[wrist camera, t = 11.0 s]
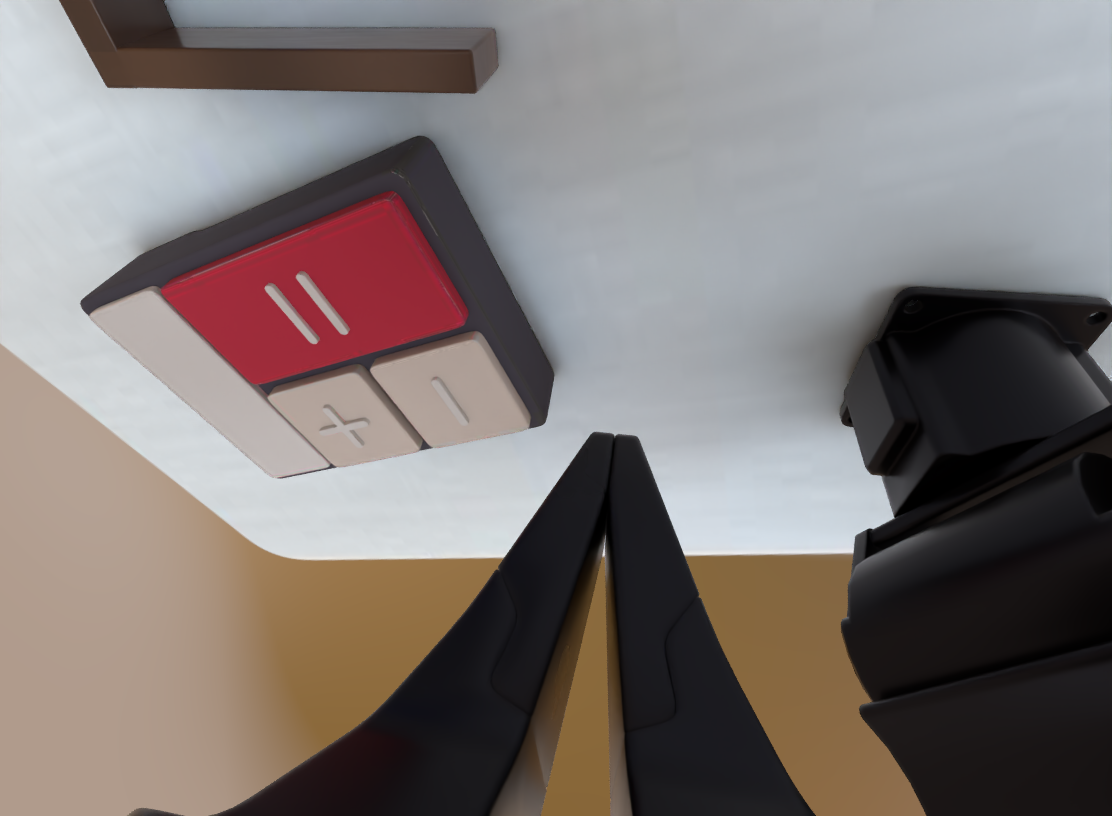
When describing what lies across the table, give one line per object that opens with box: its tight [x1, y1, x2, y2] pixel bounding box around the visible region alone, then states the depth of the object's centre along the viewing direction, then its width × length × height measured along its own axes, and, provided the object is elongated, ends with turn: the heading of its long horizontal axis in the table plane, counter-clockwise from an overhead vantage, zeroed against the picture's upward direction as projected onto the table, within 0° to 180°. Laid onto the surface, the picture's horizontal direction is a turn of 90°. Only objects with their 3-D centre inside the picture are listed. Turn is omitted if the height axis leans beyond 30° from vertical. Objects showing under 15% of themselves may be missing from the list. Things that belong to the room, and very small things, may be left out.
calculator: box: [80, 136, 554, 478], centre depth 22 cm, size 11×4×15 cm
